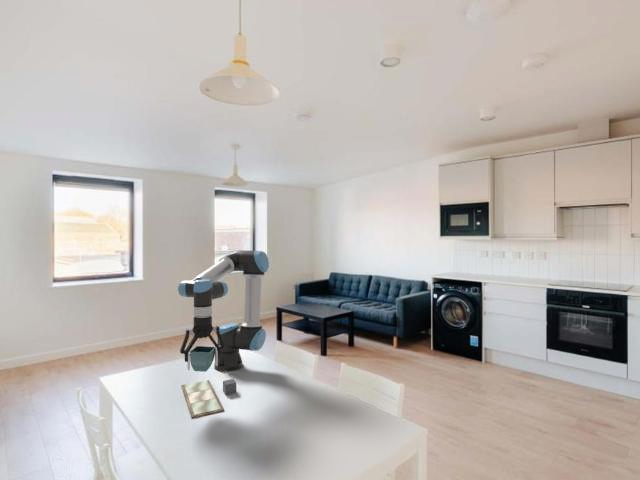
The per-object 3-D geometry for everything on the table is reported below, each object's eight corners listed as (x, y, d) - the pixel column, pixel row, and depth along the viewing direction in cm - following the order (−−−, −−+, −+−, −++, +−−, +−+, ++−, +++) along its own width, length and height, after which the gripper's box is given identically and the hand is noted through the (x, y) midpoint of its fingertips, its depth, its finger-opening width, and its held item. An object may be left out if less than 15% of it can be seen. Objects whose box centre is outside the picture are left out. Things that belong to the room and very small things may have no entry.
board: (209, 381, 181) (209, 379, 181) (224, 411, 151) (224, 408, 151) (181, 386, 175) (181, 384, 175) (191, 418, 145) (191, 416, 145)
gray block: (233, 389, 172) (233, 378, 172) (236, 393, 168) (236, 382, 168) (222, 391, 170) (222, 380, 170) (225, 395, 165) (225, 384, 165)
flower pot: (209, 373, 151) (210, 352, 152) (188, 372, 151) (189, 351, 152) (215, 367, 160) (216, 346, 160) (195, 366, 160) (196, 345, 160)
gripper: (228, 311, 164) (228, 360, 164) (173, 316, 154) (172, 368, 154) (231, 315, 157) (231, 365, 157) (174, 320, 147) (174, 374, 147)
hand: (202, 366), depth 156 cm, fingers closed on flower pot, 11 cm apart
